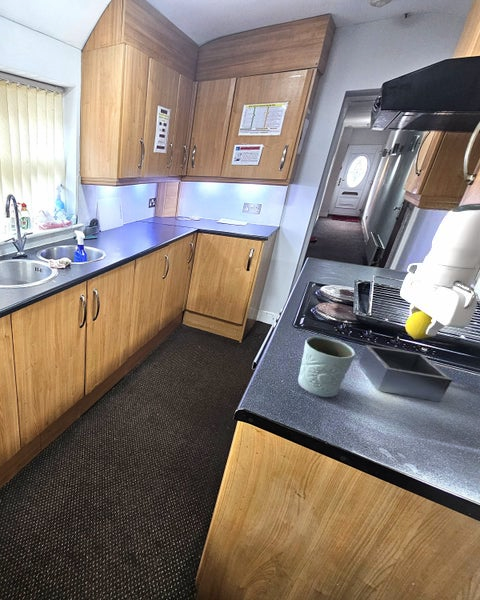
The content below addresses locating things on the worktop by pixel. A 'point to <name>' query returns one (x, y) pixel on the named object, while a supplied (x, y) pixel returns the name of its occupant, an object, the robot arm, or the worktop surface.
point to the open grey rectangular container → (403, 373)
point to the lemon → (418, 324)
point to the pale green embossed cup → (324, 365)
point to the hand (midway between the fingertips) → (420, 328)
